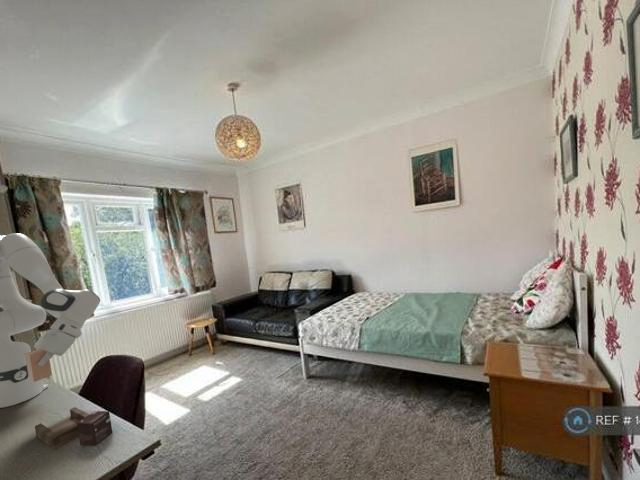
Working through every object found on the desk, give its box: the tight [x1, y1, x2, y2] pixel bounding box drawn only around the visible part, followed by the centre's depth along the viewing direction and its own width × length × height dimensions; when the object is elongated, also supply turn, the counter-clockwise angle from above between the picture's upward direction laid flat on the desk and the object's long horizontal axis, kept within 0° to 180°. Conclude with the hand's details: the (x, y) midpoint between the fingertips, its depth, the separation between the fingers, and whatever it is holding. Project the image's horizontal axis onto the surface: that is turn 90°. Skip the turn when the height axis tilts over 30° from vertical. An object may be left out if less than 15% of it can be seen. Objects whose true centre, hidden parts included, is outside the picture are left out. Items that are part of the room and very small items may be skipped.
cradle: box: [34, 406, 91, 450], centre depth 99 cm, size 16×11×4 cm
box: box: [77, 410, 113, 447], centre depth 93 cm, size 6×6×7 cm
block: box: [25, 349, 52, 382], centre depth 108 cm, size 5×5×10 cm
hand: (36, 364), depth 108 cm, fingers closed on block, 5 cm apart
